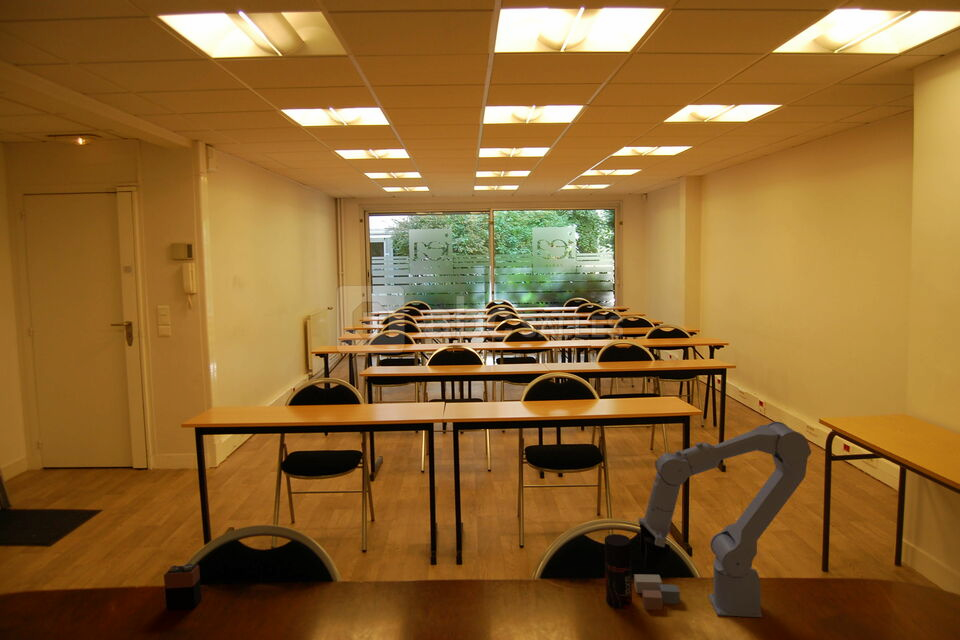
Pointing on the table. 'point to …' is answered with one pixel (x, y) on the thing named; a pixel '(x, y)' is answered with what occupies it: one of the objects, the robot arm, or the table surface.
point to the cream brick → (646, 582)
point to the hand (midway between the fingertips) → (646, 561)
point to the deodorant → (618, 571)
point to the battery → (182, 587)
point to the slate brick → (670, 594)
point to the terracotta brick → (652, 599)
